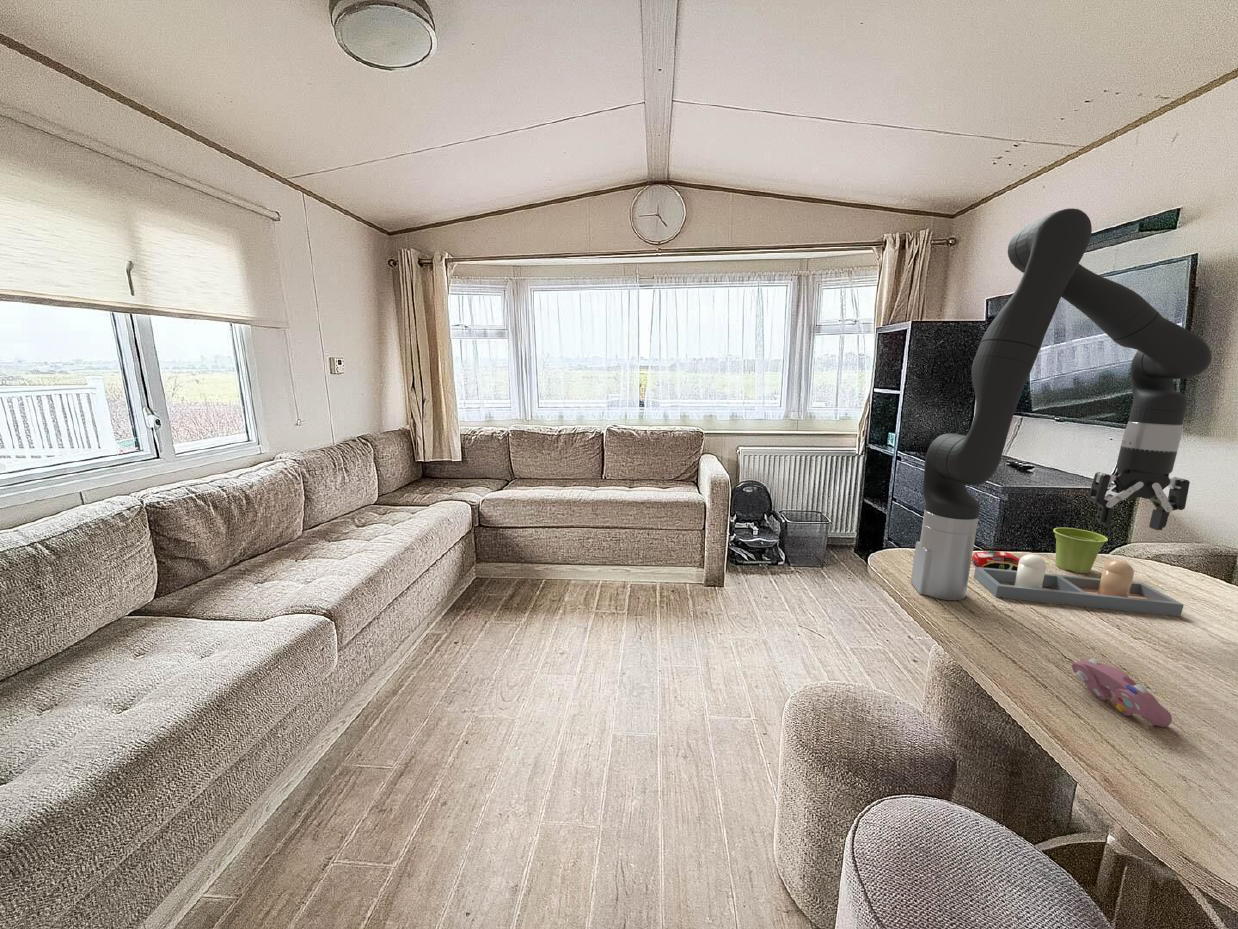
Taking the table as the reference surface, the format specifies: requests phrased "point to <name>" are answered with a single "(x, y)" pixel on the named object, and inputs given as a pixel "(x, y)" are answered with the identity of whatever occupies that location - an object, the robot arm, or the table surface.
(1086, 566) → the plant pot
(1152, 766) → the table surface
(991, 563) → the race car
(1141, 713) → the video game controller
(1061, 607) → the table surface
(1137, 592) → the divided rectangular frame
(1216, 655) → the table surface
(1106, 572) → the beige capsule
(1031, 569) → the white capsule
